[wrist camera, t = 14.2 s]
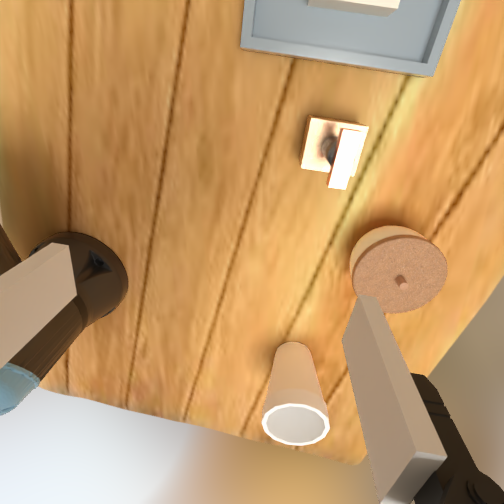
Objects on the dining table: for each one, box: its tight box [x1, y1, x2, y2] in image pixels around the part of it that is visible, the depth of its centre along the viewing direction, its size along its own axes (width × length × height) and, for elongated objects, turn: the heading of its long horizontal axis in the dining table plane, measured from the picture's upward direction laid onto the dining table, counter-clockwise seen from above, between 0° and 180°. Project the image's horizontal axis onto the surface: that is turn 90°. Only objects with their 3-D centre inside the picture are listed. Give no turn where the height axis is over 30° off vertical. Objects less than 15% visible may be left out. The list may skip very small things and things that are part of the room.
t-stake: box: [299, 115, 369, 190], centre depth 32 cm, size 6×5×12 cm
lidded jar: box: [349, 225, 447, 313], centre depth 39 cm, size 11×11×9 cm
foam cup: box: [262, 342, 330, 446], centre depth 48 cm, size 10×9×13 cm
